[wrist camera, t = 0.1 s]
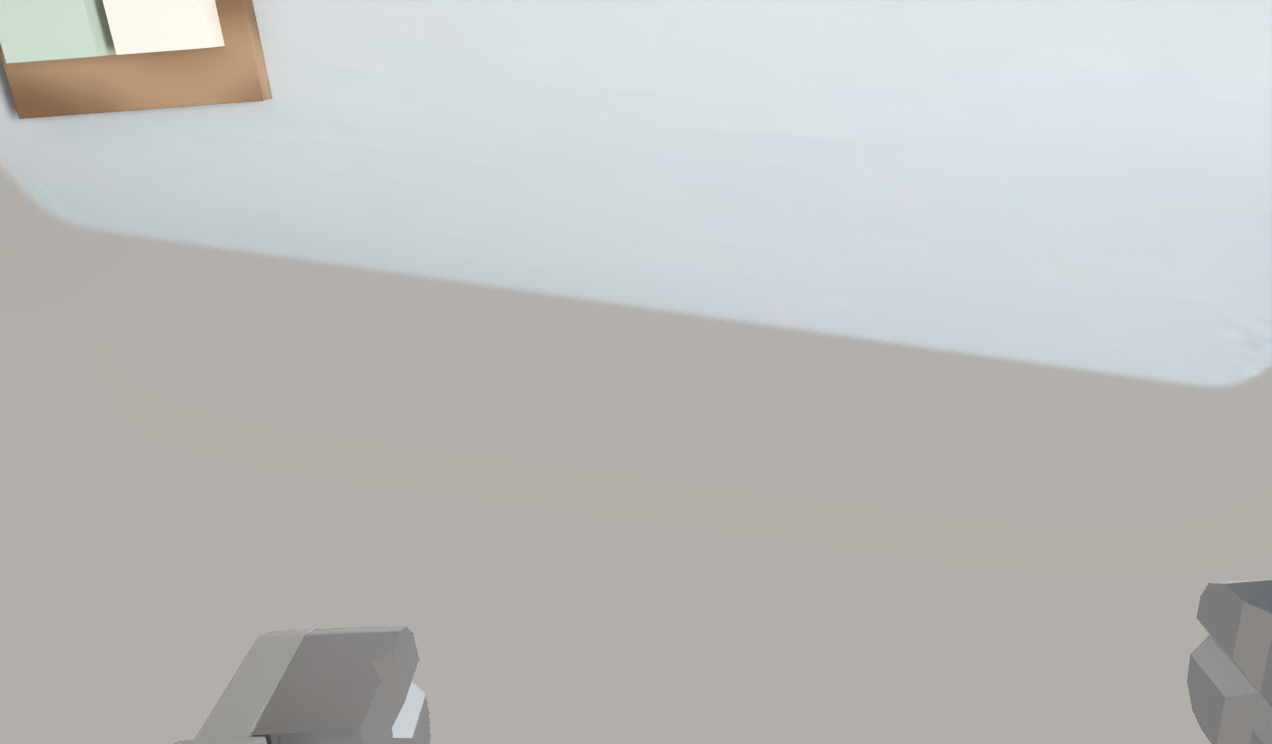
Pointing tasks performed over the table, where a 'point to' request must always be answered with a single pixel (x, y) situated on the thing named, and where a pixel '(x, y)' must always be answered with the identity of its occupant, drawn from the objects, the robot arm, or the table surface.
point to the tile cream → (163, 25)
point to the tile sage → (54, 30)
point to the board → (148, 75)
